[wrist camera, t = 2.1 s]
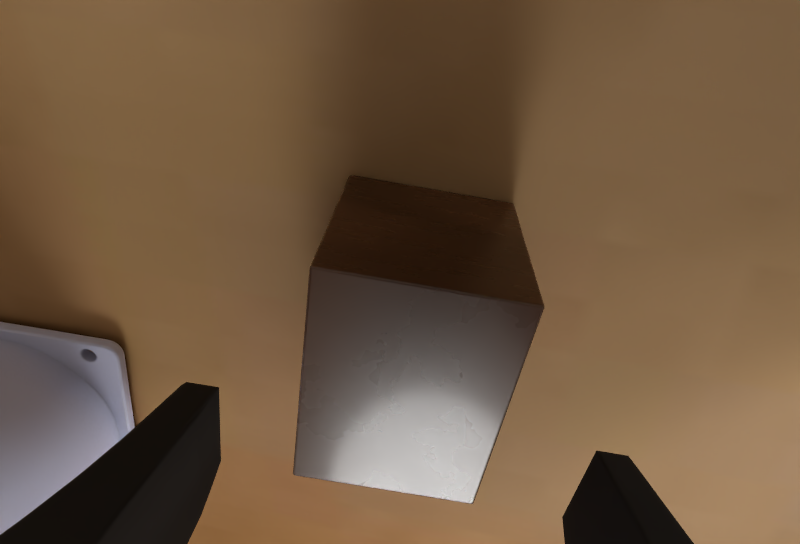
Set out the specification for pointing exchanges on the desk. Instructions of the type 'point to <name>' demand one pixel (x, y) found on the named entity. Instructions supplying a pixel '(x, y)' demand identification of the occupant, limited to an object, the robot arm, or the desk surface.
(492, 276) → the walnut block
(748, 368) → the desk surface
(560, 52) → the desk surface
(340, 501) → the desk surface
